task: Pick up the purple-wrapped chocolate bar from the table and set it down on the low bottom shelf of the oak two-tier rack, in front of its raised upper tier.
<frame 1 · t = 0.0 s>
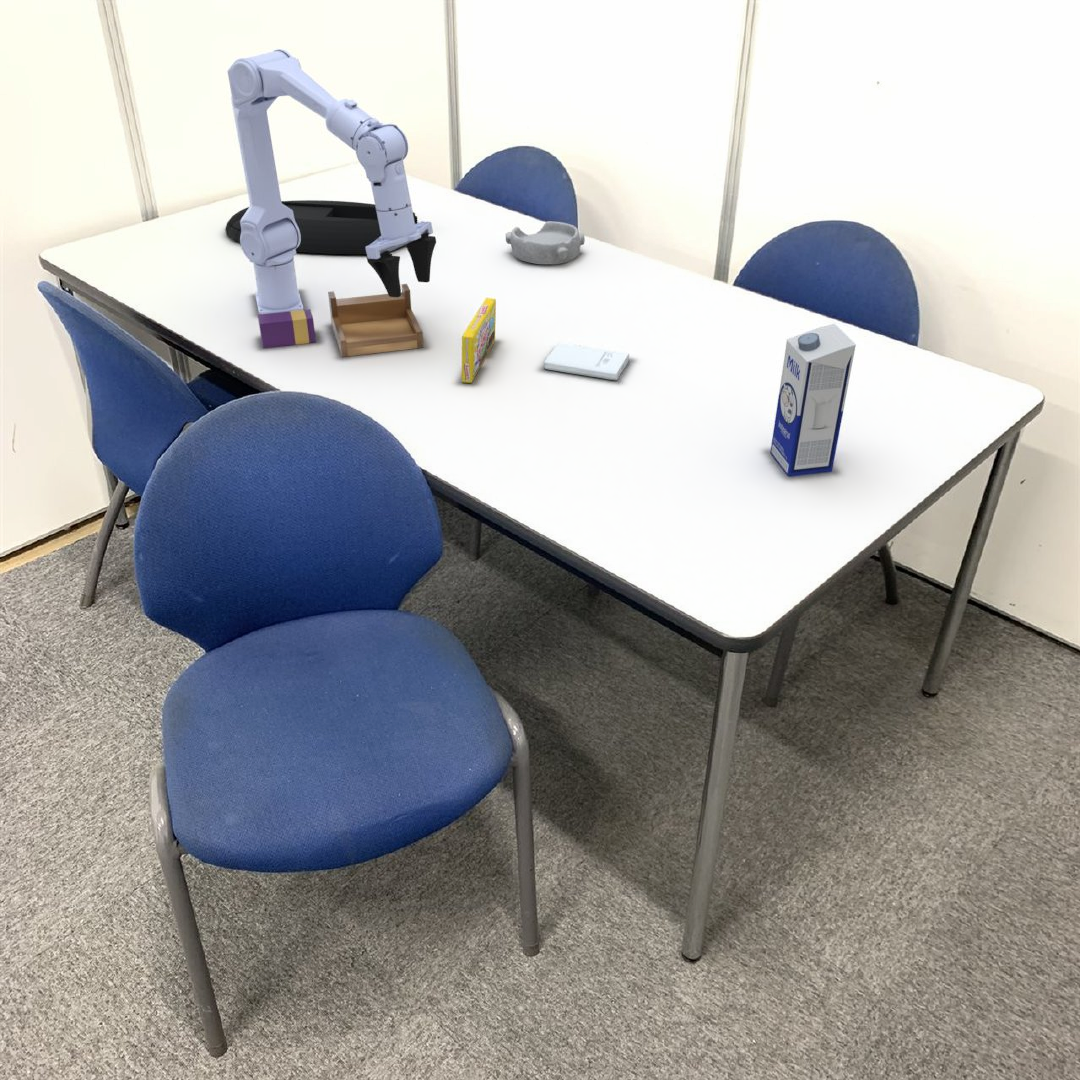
hand: (409, 288, 183), 11 cm above the table, tool pointing down, fingers open, 7 cm apart
dish: (546, 256, 225), on the table
chocolate bar: (288, 340, 191), on the table
rack: (373, 329, 195), on the table
hard drive: (586, 366, 184), on the table
milk carton: (800, 463, 159), on the table
docking station: (320, 234, 235), on the table
candy box: (479, 363, 185), on the table
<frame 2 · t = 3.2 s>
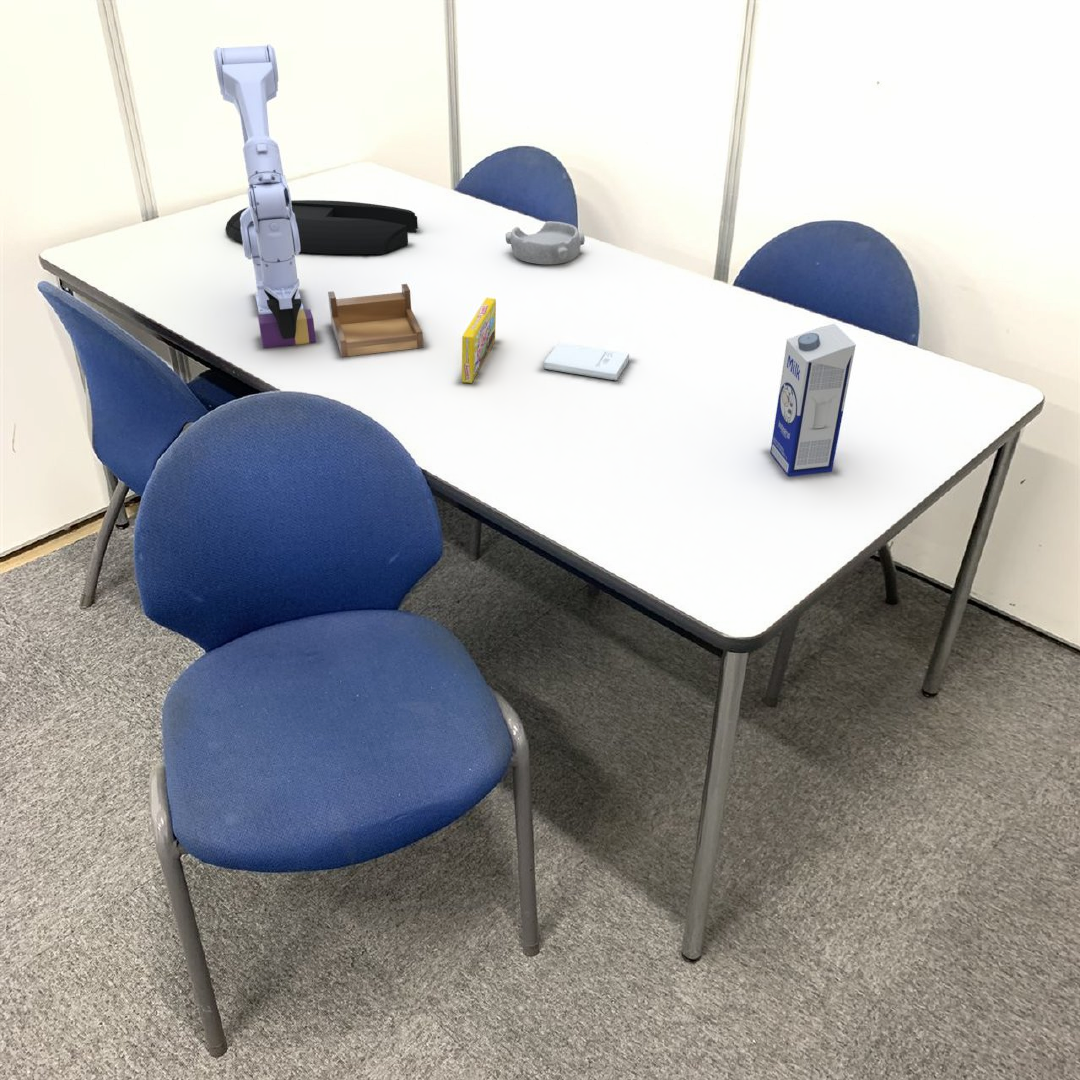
hand: (287, 332, 190), 2 cm above the table, tool pointing down, fingers closed on chocolate bar, 4 cm apart
chocolate bar: (288, 340, 191), on the table, touching gripper
everything else where it was.
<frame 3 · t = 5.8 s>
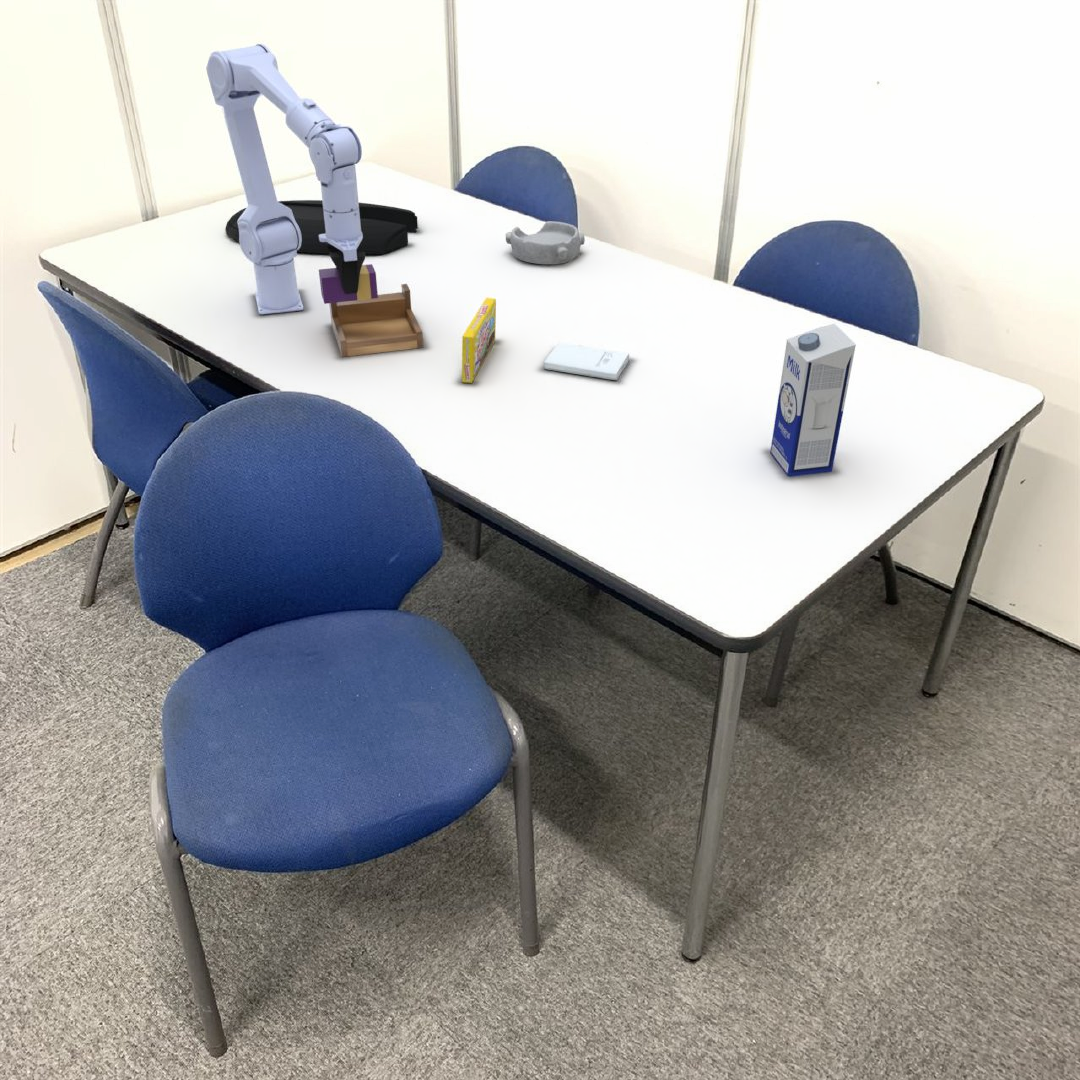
hand: (348, 287, 185), 10 cm above the table, tool pointing down, fingers closed on chocolate bar, 4 cm apart
chocolate bar: (349, 296, 186), point 8 cm above the table, touching gripper
everything else where it was.
when the fingers open (3 cm above the table, at t = 8.7 s): chocolate bar stays where it is, resting on rack.
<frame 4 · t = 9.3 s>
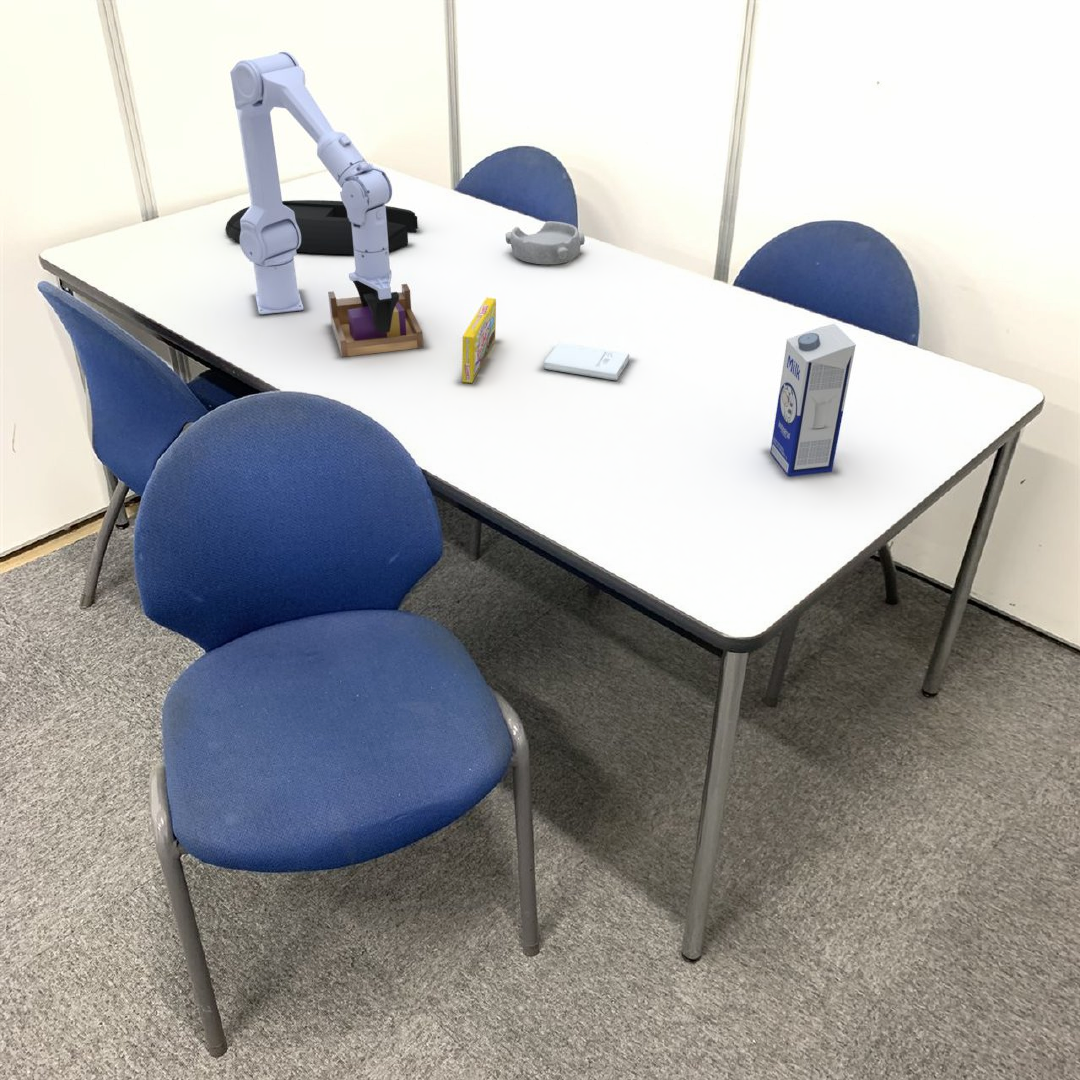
hand: (377, 323, 189), 4 cm above the table, tool pointing down, fingers open, 7 cm apart
chocolate bar: (378, 334, 190), point 2 cm above the table, touching rack
everything else where it was.
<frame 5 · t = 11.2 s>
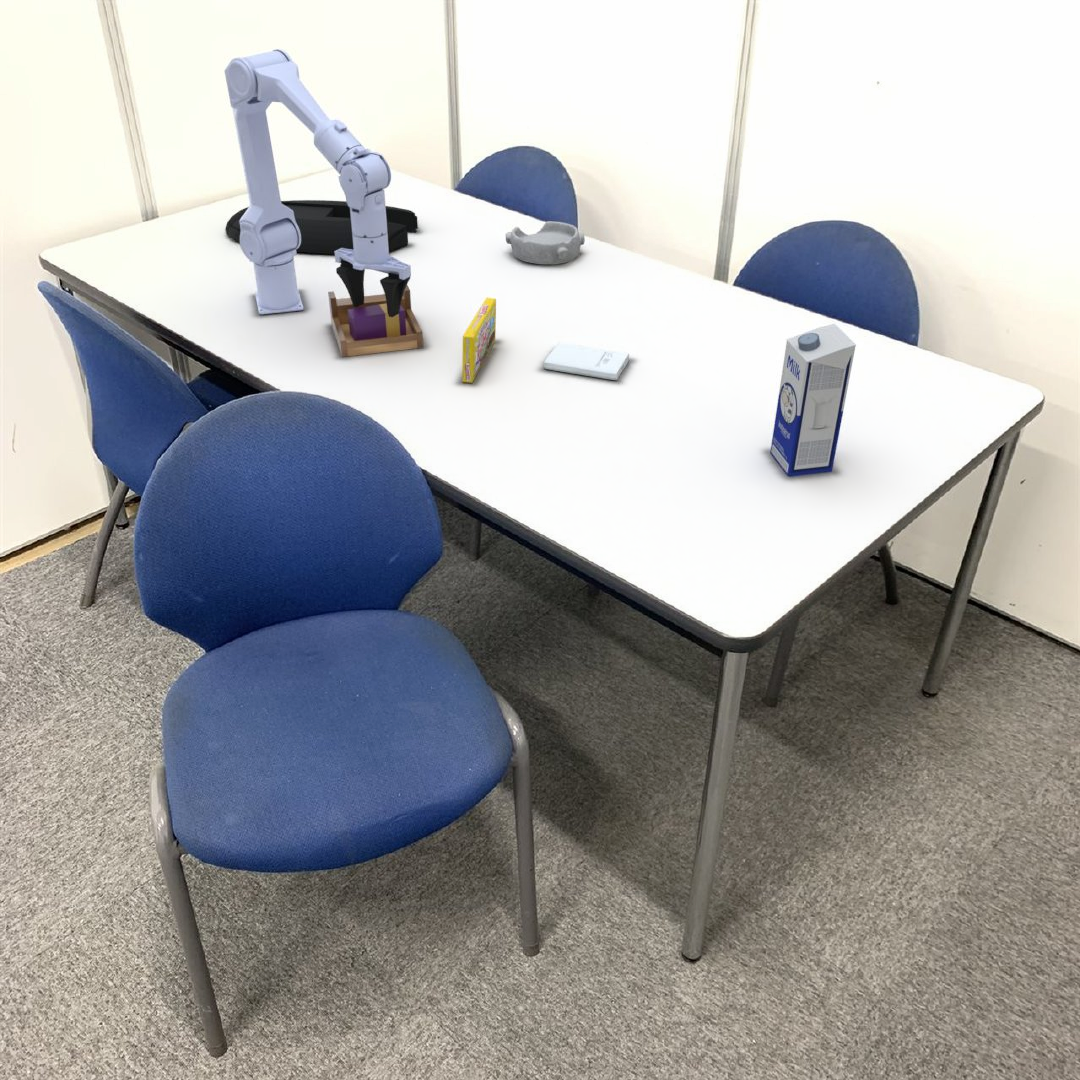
hand: (376, 310, 188), 6 cm above the table, tool pointing down, fingers open, 7 cm apart
nothing on the table moved.
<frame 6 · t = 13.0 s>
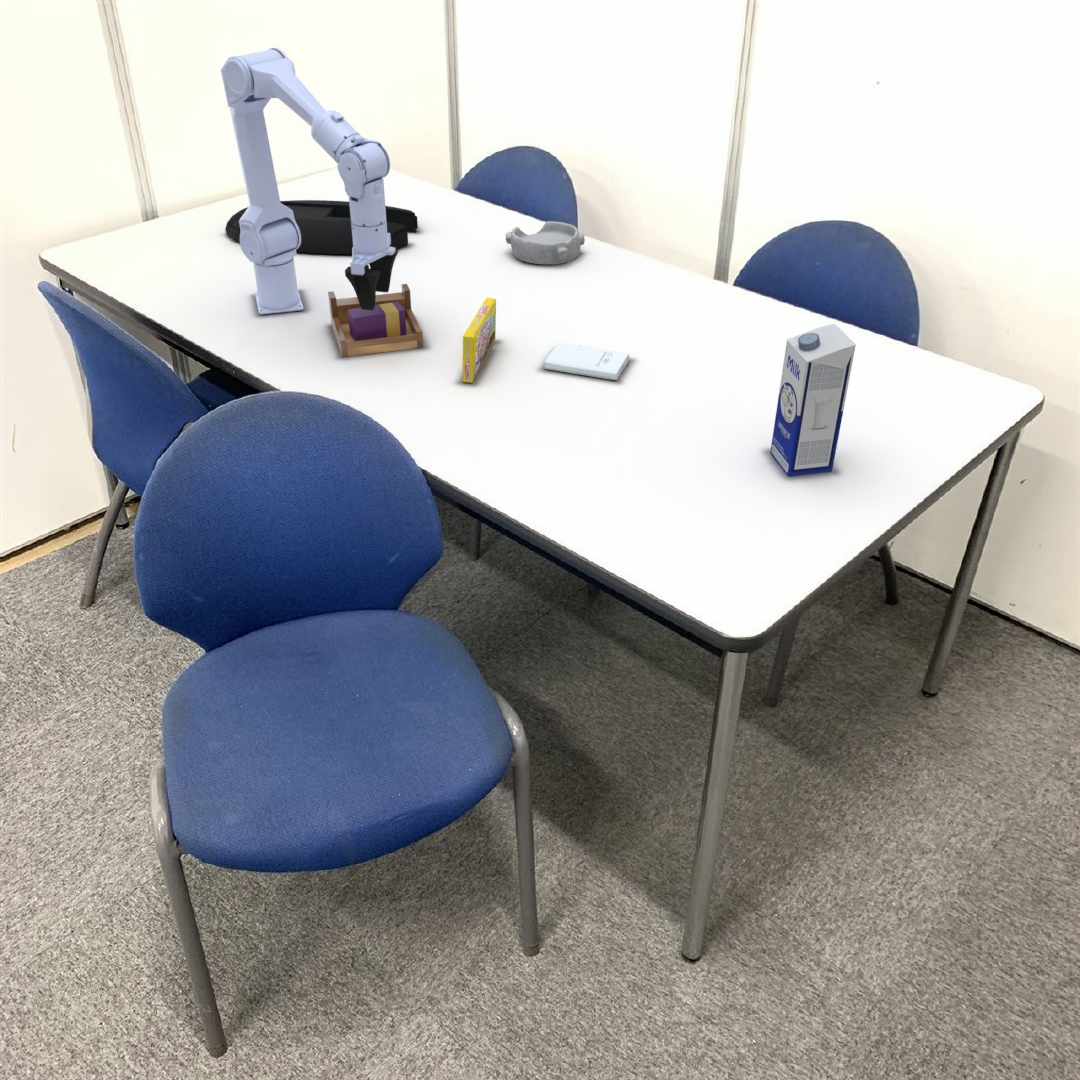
hand: (375, 300, 186), 8 cm above the table, tool pointing down, fingers open, 7 cm apart
nothing on the table moved.
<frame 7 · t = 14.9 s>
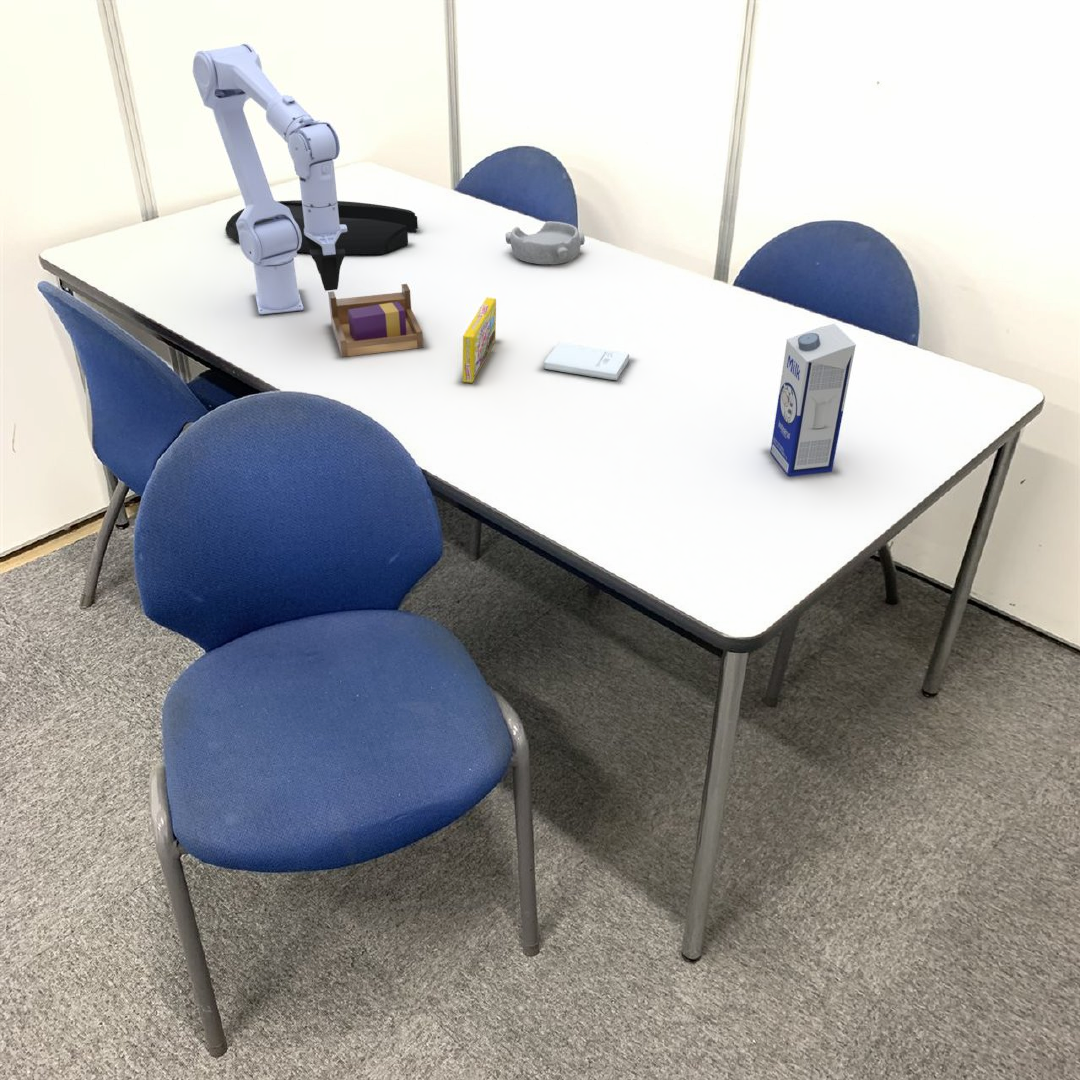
hand: (327, 280, 188), 10 cm above the table, tool pointing down, fingers open, 7 cm apart
nothing on the table moved.
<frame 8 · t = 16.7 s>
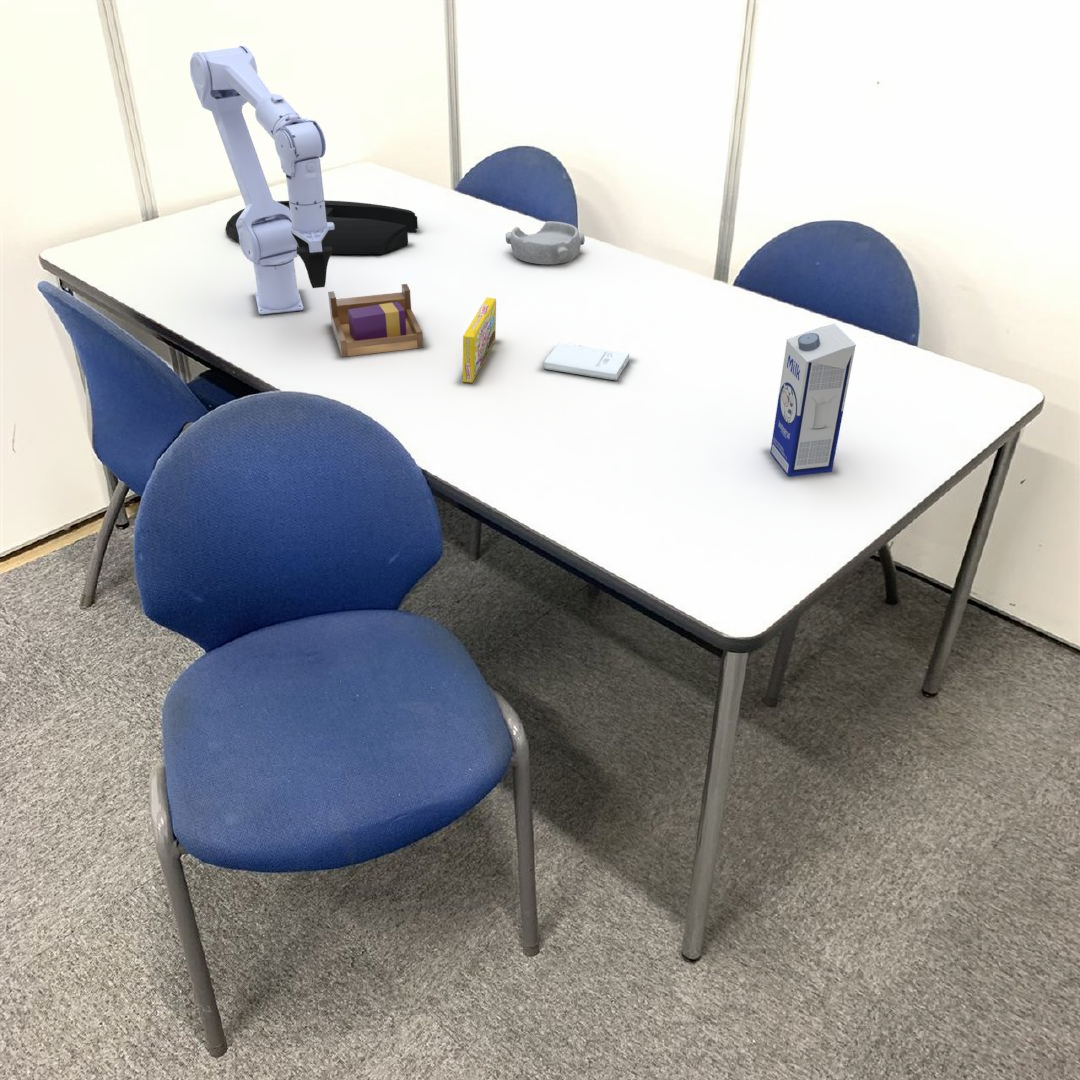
hand: (315, 278, 188), 10 cm above the table, tool pointing down, fingers open, 7 cm apart
nothing on the table moved.
at the end: chocolate bar 0.1 cm from the target spot, point 1.5 cm above the table; chocolate bar tilted 0°; the gripper is holding nothing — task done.
